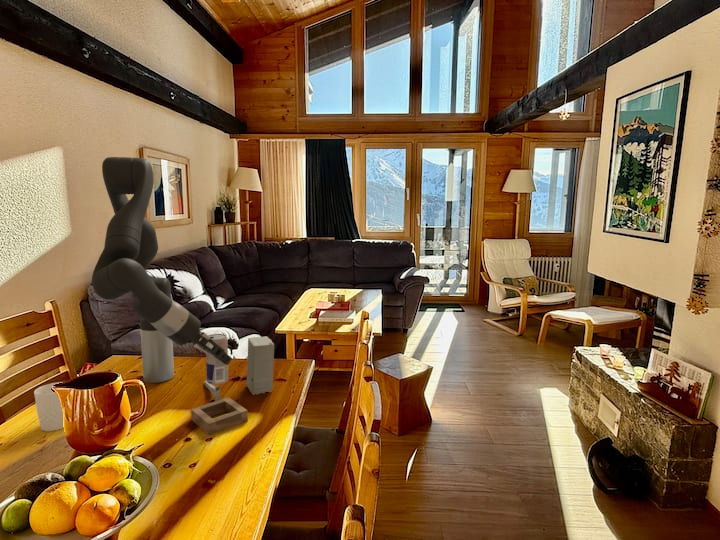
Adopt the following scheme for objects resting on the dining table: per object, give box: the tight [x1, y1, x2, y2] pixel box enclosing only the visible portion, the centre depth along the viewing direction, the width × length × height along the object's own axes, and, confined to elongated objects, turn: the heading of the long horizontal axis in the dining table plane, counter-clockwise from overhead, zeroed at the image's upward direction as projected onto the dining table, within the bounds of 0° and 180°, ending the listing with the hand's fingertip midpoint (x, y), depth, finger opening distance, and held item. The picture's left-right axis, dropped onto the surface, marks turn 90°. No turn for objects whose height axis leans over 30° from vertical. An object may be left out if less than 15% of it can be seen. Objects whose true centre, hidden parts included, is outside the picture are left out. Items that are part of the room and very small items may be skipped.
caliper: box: [203, 380, 222, 402], centre depth 127 cm, size 20×1×6 cm, turn 30°
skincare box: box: [246, 335, 275, 396], centre depth 131 cm, size 8×7×16 cm
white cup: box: [33, 381, 64, 432], centre depth 108 cm, size 8×8×10 cm
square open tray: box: [190, 397, 249, 436], centre depth 112 cm, size 11×11×3 cm
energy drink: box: [205, 333, 229, 386], centre depth 110 cm, size 5×5×12 cm
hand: (223, 358), depth 111 cm, fingers closed on energy drink, 5 cm apart
